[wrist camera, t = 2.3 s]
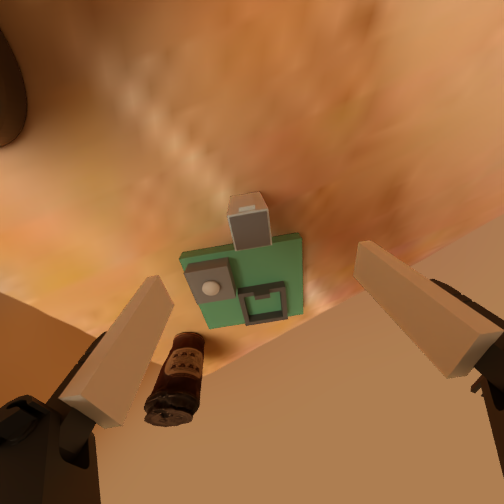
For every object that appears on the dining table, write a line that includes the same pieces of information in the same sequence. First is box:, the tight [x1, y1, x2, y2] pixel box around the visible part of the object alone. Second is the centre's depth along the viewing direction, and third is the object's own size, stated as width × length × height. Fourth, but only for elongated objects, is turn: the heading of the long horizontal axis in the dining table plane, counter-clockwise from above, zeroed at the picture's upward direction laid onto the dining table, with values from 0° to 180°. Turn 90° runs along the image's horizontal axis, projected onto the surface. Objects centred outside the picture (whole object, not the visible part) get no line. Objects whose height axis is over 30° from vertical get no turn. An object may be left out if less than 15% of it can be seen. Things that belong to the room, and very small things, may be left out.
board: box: [179, 233, 303, 329], centre depth 29 cm, size 16×18×5 cm
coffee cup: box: [144, 333, 205, 427], centre depth 33 cm, size 9×8×13 cm
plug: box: [227, 191, 272, 251], centre depth 21 cm, size 4×4×8 cm
